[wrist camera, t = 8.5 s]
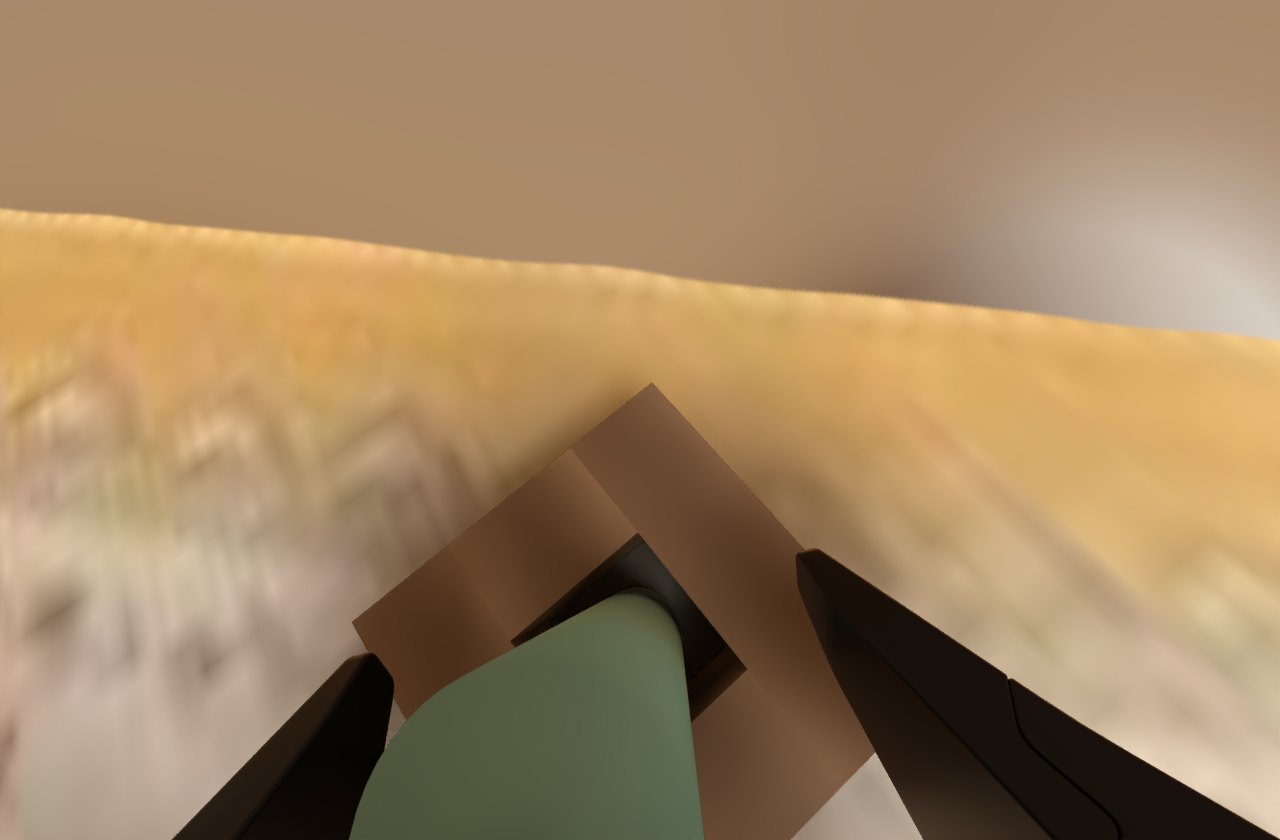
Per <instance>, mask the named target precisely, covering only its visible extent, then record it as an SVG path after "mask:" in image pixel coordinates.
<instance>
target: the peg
mask: <svg viewBox="0 0 1280 840" xmlns="http://www.w3.org/2000/svg"><path fill="white" fill-rule="evenodd" d="M349 840H704V835H703V826H702V817H701V808H700V799H699V790H698V782H697V773H696V764H695V755H694V746H693V737H692V728H691V720H690V711H689V702H688V693H687V684H686V675H685V667H684V658H683V649H682V640H681V631H680V624H679V621H678V618H677V615H676V613H675V611H674V609H673V607H672V606H671V605H670V603H669V602H668V601H667V600H666V599H665V598H664V597H662V596H661V595H660V594H658V593H657V592H654V591H652V590H649V589H646V588H629V589H625V590H622V591H620V592H618V593H616V594H614V595H612V596H611V597H609V598H607V599H605V600H603V601H601V602H599V603H598V604H596V605H594V606H592V607H590V608H588V609H586V610H585V611H583V612H581V613H579V614H577V615H575V616H573V617H572V618H570V619H568V620H566V621H564V622H562V623H560V624H559V625H557V626H555V627H553V628H551V629H549V630H547V631H546V632H544V633H542V634H540V635H538V636H536V637H534V638H533V639H531V640H529V641H527V642H525V643H523V644H521V645H520V646H518V647H516V648H514V649H512V650H510V651H508V652H507V653H505V654H503V655H501V656H499V657H497V658H495V659H494V660H492V661H490V662H488V663H486V664H484V665H482V666H481V667H479V668H477V669H475V670H473V671H471V672H470V673H468V674H466V675H464V676H462V677H460V678H459V679H457V680H455V681H454V682H452V683H450V684H449V685H447V686H445V687H444V688H442V689H441V690H440V691H438V692H437V693H436V694H435V695H433V696H432V697H431V698H430V699H428V700H427V701H426V702H424V703H423V704H422V705H421V706H420V707H419V708H418V709H417V710H416V711H415V712H414V713H413V714H412V715H411V716H410V717H409V718H408V719H407V721H406V722H405V723H404V724H403V726H402V727H401V728H400V729H399V731H398V732H397V733H396V735H395V736H394V737H393V738H392V740H391V741H390V743H389V744H388V746H387V748H386V749H385V751H384V752H383V754H382V756H381V757H380V759H379V760H378V762H377V764H376V766H375V768H374V770H373V772H372V774H371V776H370V778H369V780H368V782H367V784H366V787H365V789H364V792H363V795H362V798H361V800H360V803H359V806H358V808H357V811H356V815H355V819H354V823H353V826H352V830H351V834H350V838H349Z"/></svg>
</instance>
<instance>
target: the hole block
mask: <svg viewBox="0 0 1280 840" xmlns="http://www.w3.org/2000/svg"><path fill="white" fill-rule="evenodd" d="M643 541H645V542H646V543H647V544H648V546H649V547H650V548H651V549H652V551H653V552H654V553H655V554H656V556H657V557H658V558H659V559H660V561H661V562H662V563H663V564H664V566H665V567H666V568H667V569H668V571H669V572H670V573H671V574H672V576H673V577H674V578H675V579H676V581H677V582H678V583H679V584H680V586H681V587H682V588H683V589H684V591H685V592H686V593H687V594H688V596H689V597H690V598H691V599H692V601H693V602H694V603H695V604H696V606H697V607H698V608H699V609H700V611H701V612H702V613H703V614H704V615H705V617H706V618H707V619H708V620H709V622H710V623H711V624H712V625H713V627H714V628H715V629H716V630H717V632H718V633H719V634H720V635H721V637H722V638H723V639H724V640H725V642H726V643H727V644H728V646H727V647H726V648H725V649H724V650H723V651H722V652H721V653H719V654H718V655H717V656H716V657H715V658H714V659H713V660H712V661H711V662H710V663H709V664H708V665H707V666H705V667H704V668H703V669H702V670H701V671H700V672H699V673H698V674H697V675H696V676H695V677H694V678H692V679H691V680H690V681H689V682H688V683H687V693H688V702H689V711H690V720H691V728H692V737H693V746H694V755H695V764H696V773H697V782H698V790H699V799H700V808H701V817H702V826H703V835H704V840H790V839H791V838H792V837H793V836H794V835H795V834H796V833H797V832H798V831H799V830H800V829H801V828H802V827H803V826H804V825H805V824H806V823H807V822H808V821H809V820H810V819H811V818H812V817H813V816H814V815H815V814H816V813H817V812H818V811H819V809H820V808H821V807H822V806H823V805H824V804H825V803H826V802H827V801H828V800H829V799H830V798H831V797H832V796H833V795H834V794H835V793H836V792H837V791H838V790H839V789H840V788H841V787H842V786H843V785H844V784H845V783H846V782H847V781H848V780H849V779H850V778H851V777H852V776H853V774H854V773H855V772H856V771H857V770H858V769H859V768H860V767H861V766H862V765H863V764H864V763H865V762H866V761H867V760H868V759H869V758H870V757H871V756H872V755H873V754H874V753H875V750H874V748H873V746H872V744H871V743H870V741H869V739H868V737H867V735H866V733H865V731H864V730H863V728H862V726H861V724H860V722H859V720H858V719H857V717H856V715H855V713H854V711H853V709H852V708H851V706H850V704H849V702H848V700H847V698H846V697H845V695H844V693H843V691H842V689H841V687H840V686H839V684H838V682H837V680H836V678H835V676H834V674H833V672H832V669H831V667H830V665H829V663H828V660H827V658H826V655H825V653H824V651H823V648H822V646H821V643H820V641H819V639H818V636H817V634H816V631H815V629H814V627H813V624H812V622H811V619H810V617H809V615H808V612H807V610H806V607H805V605H804V602H803V600H802V598H801V595H800V592H799V589H798V585H797V573H796V554H797V553H798V552H801V551H805V550H804V548H803V547H802V546H801V545H800V544H799V543H798V542H797V541H796V540H795V539H794V538H793V536H792V535H791V534H790V533H789V532H788V531H787V530H786V529H785V528H784V527H783V525H782V524H781V523H780V522H779V521H778V520H777V519H776V518H775V517H774V516H773V514H772V513H771V512H770V511H769V510H768V509H767V508H766V507H765V506H764V505H763V504H762V502H761V501H760V500H759V499H758V498H757V497H756V496H755V495H754V494H753V493H752V491H751V490H750V489H749V488H748V487H747V486H746V485H745V484H744V483H743V482H742V480H741V479H740V478H739V477H738V476H737V475H736V474H735V473H734V472H733V471H732V470H731V468H730V467H729V466H728V465H727V464H726V463H725V462H724V461H723V460H722V459H721V457H720V456H719V455H718V454H717V453H716V452H715V451H714V450H713V449H712V448H711V446H710V445H709V444H708V443H707V442H706V441H705V440H704V439H703V438H702V437H701V436H700V434H699V433H698V432H697V431H696V430H695V429H694V428H693V427H692V426H691V425H690V423H689V422H688V421H687V420H686V419H685V418H684V417H683V416H682V415H681V414H680V412H679V411H678V410H677V409H676V408H675V407H674V406H673V405H672V404H671V403H670V402H669V400H668V399H667V398H666V397H665V396H664V395H663V394H662V393H661V392H660V391H659V389H658V388H657V387H656V386H655V385H654V384H653V383H651V384H649V385H648V386H647V387H646V388H644V389H643V390H642V391H641V392H639V393H638V394H637V395H636V396H634V397H633V398H632V399H631V400H629V401H628V402H627V403H626V404H624V405H623V406H622V407H621V408H619V409H618V410H617V411H616V412H614V413H613V414H612V415H611V416H609V417H608V418H607V419H606V420H604V421H603V422H602V423H601V424H599V425H598V426H597V427H596V428H594V429H593V430H592V431H591V432H589V433H588V434H587V435H585V436H584V437H583V438H582V439H580V440H579V441H578V442H577V443H575V444H574V445H573V446H572V447H570V448H569V449H568V450H567V451H565V452H564V453H563V454H562V455H560V456H559V457H558V458H557V459H555V460H554V461H553V462H552V463H550V464H549V465H548V466H547V467H545V468H544V469H543V470H542V471H540V472H539V473H538V474H537V475H535V476H534V477H533V478H532V479H530V480H529V481H528V482H527V483H525V484H524V485H523V486H522V487H520V488H519V489H518V490H517V491H515V492H514V493H513V494H512V495H510V496H509V497H508V498H507V499H505V500H504V501H503V502H502V503H500V504H499V505H498V506H497V507H495V508H494V509H493V510H492V511H490V512H489V513H488V514H487V515H485V516H484V517H483V518H482V519H480V520H479V521H478V522H477V523H475V524H474V525H473V526H472V527H470V528H469V529H468V530H467V531H465V532H464V533H463V534H462V535H460V536H459V537H458V538H457V539H455V540H454V541H453V542H452V543H450V544H449V545H448V546H447V547H445V548H444V549H443V550H441V551H440V552H439V553H438V554H436V555H435V556H434V557H433V558H431V559H430V560H429V561H428V562H426V563H425V564H424V565H423V566H421V567H420V568H419V569H418V570H416V571H415V572H414V573H413V574H411V575H410V576H409V577H408V578H406V579H405V580H404V581H403V582H401V583H400V584H399V585H398V586H396V587H395V588H394V589H393V590H391V591H390V592H389V593H388V594H386V595H385V596H384V597H383V598H381V599H380V600H379V601H378V602H376V603H375V604H374V605H373V606H371V607H370V608H369V609H368V610H366V611H365V612H364V613H363V614H361V615H360V616H359V617H358V618H356V619H355V620H354V621H353V622H352V624H353V625H354V627H355V629H356V631H357V632H358V634H359V636H360V638H361V640H362V641H363V643H364V645H365V647H366V649H367V650H368V652H369V653H370V652H372V653H374V654H376V655H377V656H378V658H379V659H380V660H381V662H382V663H383V665H384V666H385V667H386V669H387V670H388V671H389V673H390V674H391V676H392V677H393V680H394V695H393V697H394V699H395V700H396V702H397V704H398V706H399V708H400V709H401V711H402V713H403V715H404V717H405V718H406V720H407V719H408V718H409V717H410V716H411V715H412V714H413V713H414V712H415V711H416V710H417V709H418V708H419V707H420V706H421V705H422V704H423V703H424V702H426V701H427V700H428V699H430V698H431V697H432V696H433V695H435V694H436V693H437V692H438V691H440V690H441V689H442V688H444V687H445V686H447V685H449V684H450V683H452V682H454V681H455V680H457V679H459V678H460V677H462V676H464V675H466V674H468V673H470V672H471V671H473V670H475V669H477V668H479V667H481V666H482V665H484V664H486V663H488V662H490V661H492V660H494V659H495V658H497V657H499V656H501V655H503V654H505V653H507V652H508V651H510V650H512V649H514V648H516V647H518V646H520V645H521V644H523V643H525V642H527V641H529V640H531V639H533V638H534V637H536V636H538V635H540V634H542V633H544V632H546V631H547V630H549V629H551V627H550V626H549V624H548V622H550V621H551V620H552V619H553V618H554V617H555V616H557V615H558V614H559V613H560V612H561V611H562V610H564V609H565V608H566V607H567V606H568V605H569V604H571V603H572V602H573V601H574V600H575V599H576V598H578V597H579V596H580V595H581V594H582V593H583V592H585V591H586V590H587V589H588V588H589V587H590V586H592V585H593V584H594V583H595V582H596V581H597V580H599V579H600V578H601V577H602V576H603V575H604V574H606V573H607V572H608V571H609V570H610V569H611V568H613V567H614V566H615V565H616V564H617V563H618V562H620V561H621V560H622V559H623V558H624V557H625V556H627V555H628V554H629V553H630V552H631V551H632V550H634V549H635V548H636V547H637V546H638V545H639V544H641V543H642V542H643Z"/></svg>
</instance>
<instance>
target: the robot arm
mask: <svg viewBox="0 0 1280 840" xmlns="http://www.w3.org/2000/svg"><path fill="white" fill-rule="evenodd" d="M796 573H797V585H798V589H799V592H800V595H801V598H802V600H803V602H804V605H805V607H806V610H807V612H808V615H809V617H810V619H811V622H812V624H813V627H814V629H815V631H816V634H817V636H818V639H819V641H820V643H821V646H822V648H823V651H824V653H825V655H826V658H827V660H828V663H829V665H830V667H831V669H832V672H833V674H834V676H835V678H836V680H837V682H838V684H839V686H840V687H841V689H842V691H843V693H844V695H845V697H846V698H847V700H848V702H849V704H850V706H851V708H852V709H853V711H854V713H855V715H856V717H857V719H858V720H859V722H860V724H861V726H862V728H863V730H864V731H865V733H866V735H867V737H868V739H869V741H870V743H871V744H872V746H873V748H874V750H875V752H876V754H877V755H878V757H879V759H880V761H881V763H882V765H883V766H884V768H885V770H886V772H887V774H888V776H889V777H890V779H891V781H892V783H893V785H894V787H895V788H896V790H897V792H898V794H899V796H900V798H901V800H902V801H903V803H904V805H905V807H906V809H907V811H908V812H909V814H910V816H911V818H912V820H913V822H914V823H915V825H916V827H917V829H918V831H919V833H920V834H921V836H922V838H923V840H1280V839H1279V838H1277V837H1275V836H1274V835H1272V834H1270V833H1268V832H1266V831H1265V830H1263V829H1261V828H1260V827H1258V826H1256V825H1254V824H1253V823H1251V822H1249V821H1247V820H1246V819H1244V818H1242V817H1240V816H1239V815H1237V814H1235V813H1234V812H1232V811H1230V810H1228V809H1227V808H1225V807H1223V806H1221V805H1220V804H1218V803H1216V802H1215V801H1213V800H1211V799H1209V798H1208V797H1206V796H1204V795H1202V794H1201V793H1199V792H1197V791H1195V790H1194V789H1192V788H1190V787H1189V786H1187V785H1185V784H1183V783H1182V782H1180V781H1178V780H1176V779H1175V778H1173V777H1171V776H1169V775H1168V774H1166V773H1164V772H1163V771H1161V770H1159V769H1157V768H1156V767H1154V766H1152V765H1150V764H1149V763H1147V762H1145V761H1144V760H1142V759H1140V758H1138V757H1137V756H1135V755H1133V754H1132V753H1130V752H1128V751H1126V750H1125V749H1123V748H1121V747H1120V746H1118V745H1116V744H1115V743H1113V742H1111V741H1110V740H1108V739H1106V738H1105V737H1103V736H1101V735H1100V734H1098V733H1096V732H1095V731H1093V730H1091V729H1090V728H1088V727H1086V726H1085V725H1083V724H1081V723H1080V722H1078V721H1077V720H1075V719H1074V718H1072V717H1071V716H1069V715H1067V714H1066V713H1064V712H1063V711H1061V710H1060V709H1058V708H1057V707H1055V706H1054V705H1052V704H1050V703H1049V702H1047V701H1046V700H1044V699H1043V698H1041V697H1040V696H1038V695H1037V694H1035V693H1034V692H1032V691H1031V690H1029V689H1028V688H1026V687H1025V686H1023V685H1022V684H1020V683H1019V682H1017V681H1016V680H1014V679H1012V678H1009V679H1008V677H1007V675H1006V674H1005V673H1003V672H1002V671H1000V670H999V669H997V668H996V667H994V666H993V665H991V664H990V663H988V662H987V661H985V660H984V659H982V658H981V657H979V656H978V655H976V654H975V653H974V652H972V651H971V650H969V649H968V648H966V647H965V646H963V645H962V644H960V643H959V642H957V641H956V640H954V639H953V638H951V637H950V636H948V635H947V634H945V633H944V632H942V631H941V630H939V629H938V628H936V627H935V626H933V625H932V624H930V623H929V622H927V621H926V620H924V619H923V618H921V617H920V616H918V615H917V614H915V613H914V612H912V611H911V610H909V609H908V608H906V607H905V606H903V605H902V604H900V603H899V602H897V601H896V600H894V599H893V598H891V597H890V596H888V595H887V594H885V593H884V592H882V591H881V590H879V589H878V588H877V587H875V586H874V585H872V584H871V583H869V582H868V581H866V580H865V579H863V578H862V577H860V576H859V575H857V574H856V573H854V572H853V571H851V570H850V569H848V568H847V567H845V566H844V565H842V564H841V563H839V562H838V561H836V560H835V559H833V558H832V557H830V556H829V555H827V554H826V553H824V552H823V551H821V550H820V549H816V548H814V549H809V550H805V551H801V552H798V553H797V554H796ZM393 695H394V680H393V677H392V676H391V674H390V673H389V671H388V670H387V669H386V667H385V666H384V665H383V663H382V662H381V660H380V659H379V658H378V656H377V655H376V654H374V653H372V652H370V653H364V654H360V655H356V656H352V657H350V658H349V659H347V660H346V661H345V662H344V663H343V664H342V665H341V666H340V667H339V668H338V669H337V670H336V671H335V672H334V673H333V674H332V675H331V676H330V677H329V678H328V679H327V680H326V682H325V683H324V684H323V685H322V686H321V687H320V688H319V689H318V690H317V691H316V692H315V693H314V694H313V695H312V696H311V697H310V698H309V699H308V700H307V701H306V702H305V703H304V704H303V705H302V706H301V707H300V708H299V709H298V710H297V711H296V712H295V713H294V714H293V715H292V716H291V718H290V719H289V720H288V721H287V722H286V723H285V724H284V725H283V726H282V727H281V728H280V729H279V730H278V731H277V732H276V733H275V734H274V735H273V736H272V737H271V738H270V739H269V740H268V741H267V742H266V743H265V744H264V745H263V746H262V747H261V748H260V749H259V750H258V751H257V753H256V754H255V755H254V756H253V757H252V758H251V759H250V760H249V761H248V762H247V763H246V764H245V765H244V766H243V767H242V768H241V769H240V770H239V771H238V772H237V773H236V774H235V775H234V776H233V777H232V778H231V779H230V780H229V781H228V782H227V783H226V784H225V785H224V786H223V787H222V789H221V790H220V791H219V792H218V793H217V794H216V795H215V796H214V797H213V798H212V799H211V800H210V801H209V802H208V803H207V804H206V805H205V806H204V807H203V808H202V809H201V810H200V811H199V812H198V813H197V814H196V815H195V816H194V817H193V818H192V819H191V820H190V821H189V822H188V823H187V824H186V826H185V827H184V828H183V829H182V830H181V831H180V832H179V833H178V834H177V835H176V836H175V837H174V838H173V839H172V840H349V838H350V834H351V830H352V826H353V823H354V819H355V815H356V811H357V808H358V806H359V803H360V800H361V798H362V795H363V792H364V789H365V787H366V784H367V782H368V780H369V778H370V776H371V774H372V772H373V770H374V768H375V766H376V764H377V762H378V760H379V759H380V757H381V756H382V754H383V752H384V748H385V742H386V736H387V731H388V725H389V719H390V713H391V707H392V701H393Z"/></svg>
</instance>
